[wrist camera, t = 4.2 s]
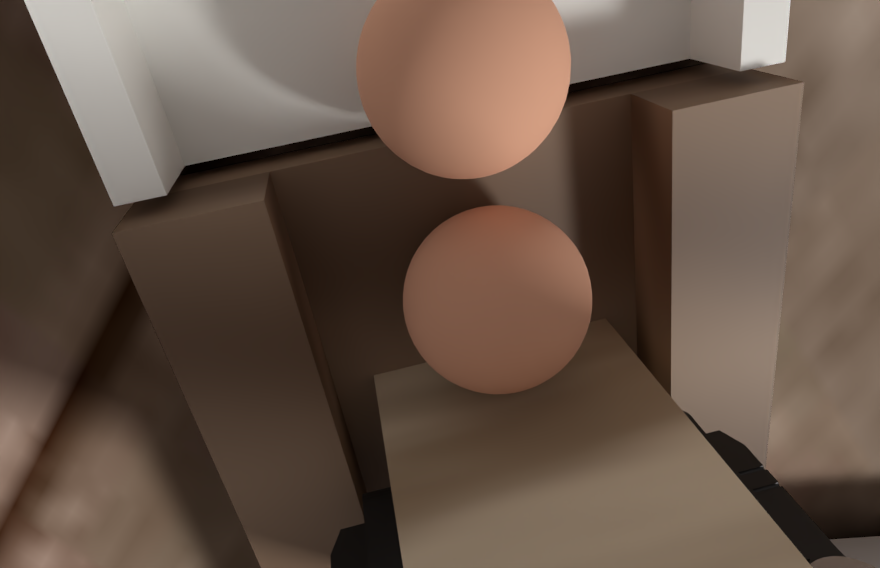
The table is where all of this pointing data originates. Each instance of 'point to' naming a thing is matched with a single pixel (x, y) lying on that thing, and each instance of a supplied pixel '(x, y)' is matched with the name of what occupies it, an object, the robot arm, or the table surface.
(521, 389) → the ball
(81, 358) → the table surface
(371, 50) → the ball
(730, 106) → the slot board
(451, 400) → the block
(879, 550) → the tube
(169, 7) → the tray
